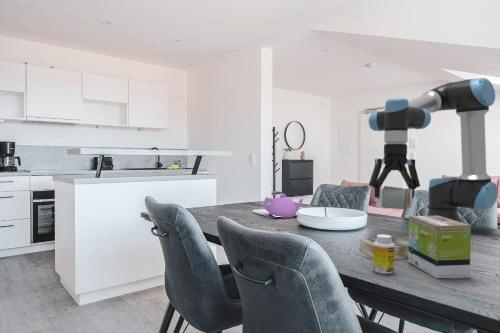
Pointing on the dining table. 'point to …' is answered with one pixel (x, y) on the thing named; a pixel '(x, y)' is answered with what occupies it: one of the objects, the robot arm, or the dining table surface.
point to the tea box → (440, 246)
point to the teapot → (282, 206)
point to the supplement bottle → (383, 255)
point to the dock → (399, 242)
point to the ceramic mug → (395, 197)
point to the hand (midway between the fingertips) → (393, 207)
